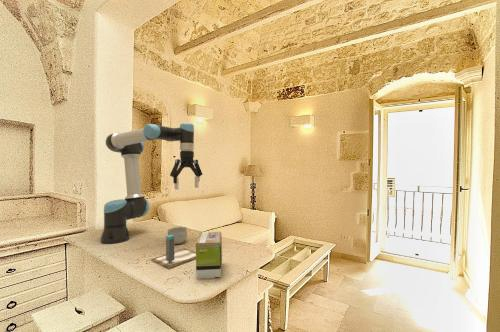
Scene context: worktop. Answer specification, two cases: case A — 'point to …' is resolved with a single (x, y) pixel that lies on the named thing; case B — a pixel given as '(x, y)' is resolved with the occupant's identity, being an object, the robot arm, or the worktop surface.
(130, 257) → the worktop surface
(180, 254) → the clipboard
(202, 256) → the tea box
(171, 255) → the marker
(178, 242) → the teacup
